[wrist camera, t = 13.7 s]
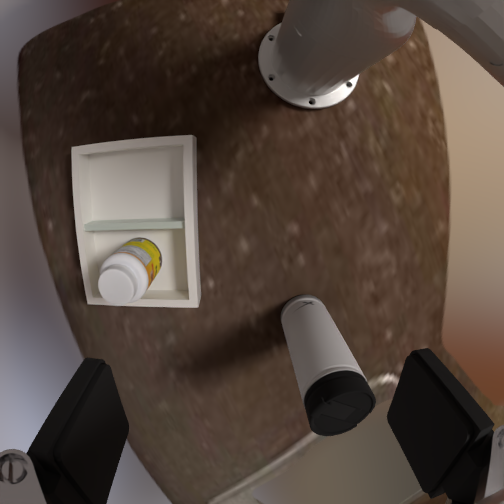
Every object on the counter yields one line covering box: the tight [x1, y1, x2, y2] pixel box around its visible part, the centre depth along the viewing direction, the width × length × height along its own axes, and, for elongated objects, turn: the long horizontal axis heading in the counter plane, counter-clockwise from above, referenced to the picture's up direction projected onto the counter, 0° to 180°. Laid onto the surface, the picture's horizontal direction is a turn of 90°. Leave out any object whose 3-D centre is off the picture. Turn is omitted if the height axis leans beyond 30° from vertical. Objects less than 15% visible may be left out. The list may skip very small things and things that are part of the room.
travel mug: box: [281, 295, 376, 436], centre depth 32 cm, size 6×7×20 cm
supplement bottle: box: [98, 237, 162, 306], centre depth 33 cm, size 6×6×10 cm
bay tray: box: [72, 135, 201, 308], centre depth 35 cm, size 20×15×4 cm
